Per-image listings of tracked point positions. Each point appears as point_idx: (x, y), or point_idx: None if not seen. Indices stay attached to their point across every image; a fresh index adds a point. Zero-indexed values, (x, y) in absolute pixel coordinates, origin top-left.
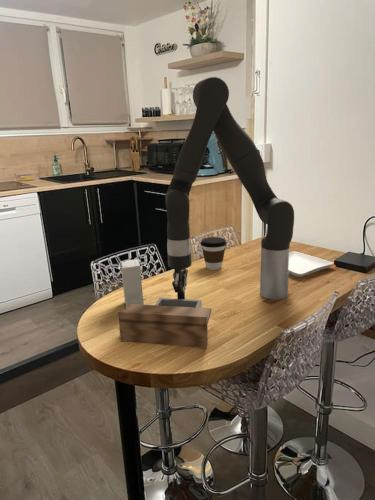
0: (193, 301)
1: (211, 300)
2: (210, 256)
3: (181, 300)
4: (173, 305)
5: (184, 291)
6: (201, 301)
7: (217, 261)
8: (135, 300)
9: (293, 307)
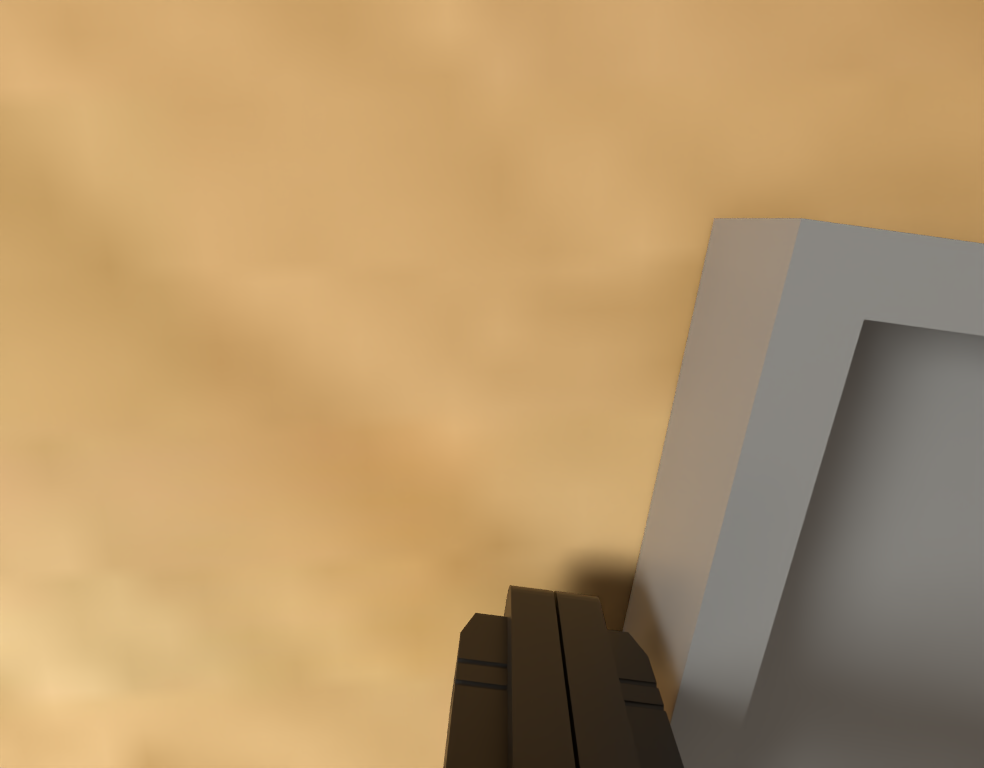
0: (825, 433)
1: (292, 3)
2: None
3: (747, 699)
4: None
5: (544, 764)
6: (799, 220)
7: None
8: None
9: None
